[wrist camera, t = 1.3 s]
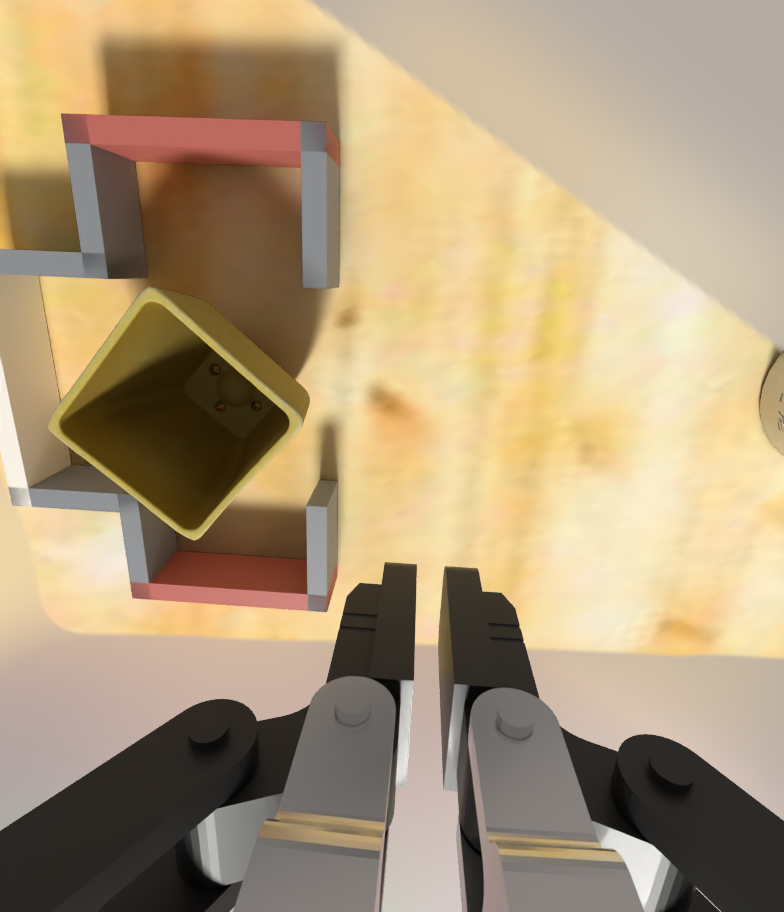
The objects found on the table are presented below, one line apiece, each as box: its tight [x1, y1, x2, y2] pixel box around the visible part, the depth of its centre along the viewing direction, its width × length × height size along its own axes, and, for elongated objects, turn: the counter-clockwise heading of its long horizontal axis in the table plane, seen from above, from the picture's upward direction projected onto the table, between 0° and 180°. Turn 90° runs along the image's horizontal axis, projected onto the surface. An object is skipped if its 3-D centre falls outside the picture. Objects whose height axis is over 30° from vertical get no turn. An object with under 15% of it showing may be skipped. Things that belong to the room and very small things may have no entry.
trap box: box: [0, 114, 340, 612], centre depth 30 cm, size 26×19×4 cm
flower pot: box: [48, 286, 310, 540], centre depth 28 cm, size 9×9×9 cm
